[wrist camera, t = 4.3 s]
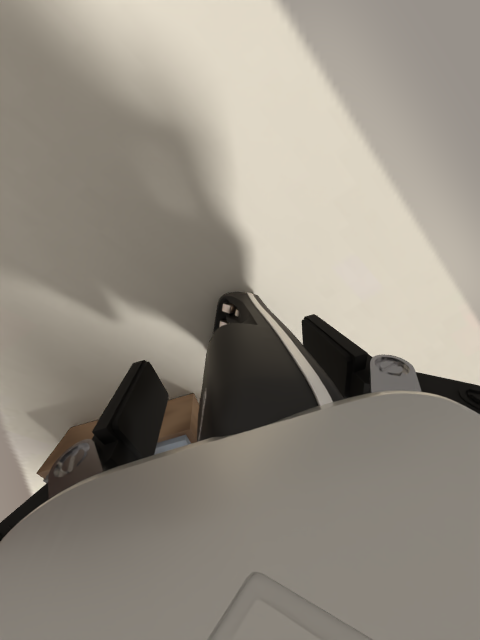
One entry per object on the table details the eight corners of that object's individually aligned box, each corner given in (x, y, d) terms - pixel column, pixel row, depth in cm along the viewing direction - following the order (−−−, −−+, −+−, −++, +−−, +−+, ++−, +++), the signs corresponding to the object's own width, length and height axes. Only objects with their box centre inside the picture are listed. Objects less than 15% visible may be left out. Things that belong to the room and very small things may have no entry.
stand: (193, 393, 17) (189, 434, 14) (231, 473, 24) (235, 513, 21) (70, 427, 17) (31, 479, 13) (145, 499, 24) (134, 545, 20)
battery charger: (210, 283, 13) (210, 451, 3) (259, 290, 14) (401, 441, 4) (201, 360, 16) (183, 590, 5) (242, 362, 16) (294, 565, 6)
